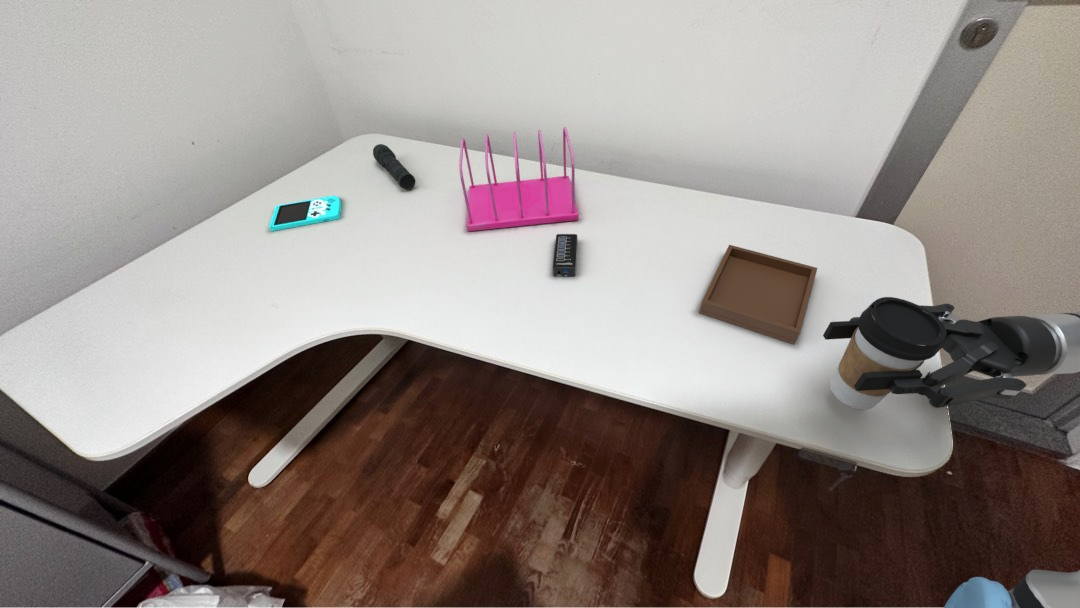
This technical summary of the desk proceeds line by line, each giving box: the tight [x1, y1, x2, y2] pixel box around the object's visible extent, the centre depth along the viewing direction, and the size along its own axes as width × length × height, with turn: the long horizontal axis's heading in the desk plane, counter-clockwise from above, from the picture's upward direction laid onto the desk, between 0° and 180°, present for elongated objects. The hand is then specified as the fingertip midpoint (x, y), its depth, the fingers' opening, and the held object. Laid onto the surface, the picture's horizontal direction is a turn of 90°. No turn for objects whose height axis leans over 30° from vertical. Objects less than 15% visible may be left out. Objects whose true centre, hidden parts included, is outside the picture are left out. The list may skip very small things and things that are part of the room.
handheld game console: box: [268, 195, 342, 232], centre depth 111 cm, size 10×16×1 cm, turn 103°
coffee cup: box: [830, 296, 946, 411], centre depth 59 cm, size 8×8×15 cm
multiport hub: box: [552, 233, 578, 278], centre depth 93 cm, size 4×11×2 cm, turn 175°
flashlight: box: [372, 143, 417, 191], centre depth 121 cm, size 5×21×5 cm, turn 33°
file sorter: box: [458, 126, 579, 232], centre depth 103 cm, size 17×25×16 cm
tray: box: [698, 244, 818, 345], centre depth 81 cm, size 18×16×3 cm
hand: (843, 355), depth 58 cm, fingers closed on coffee cup, 8 cm apart
